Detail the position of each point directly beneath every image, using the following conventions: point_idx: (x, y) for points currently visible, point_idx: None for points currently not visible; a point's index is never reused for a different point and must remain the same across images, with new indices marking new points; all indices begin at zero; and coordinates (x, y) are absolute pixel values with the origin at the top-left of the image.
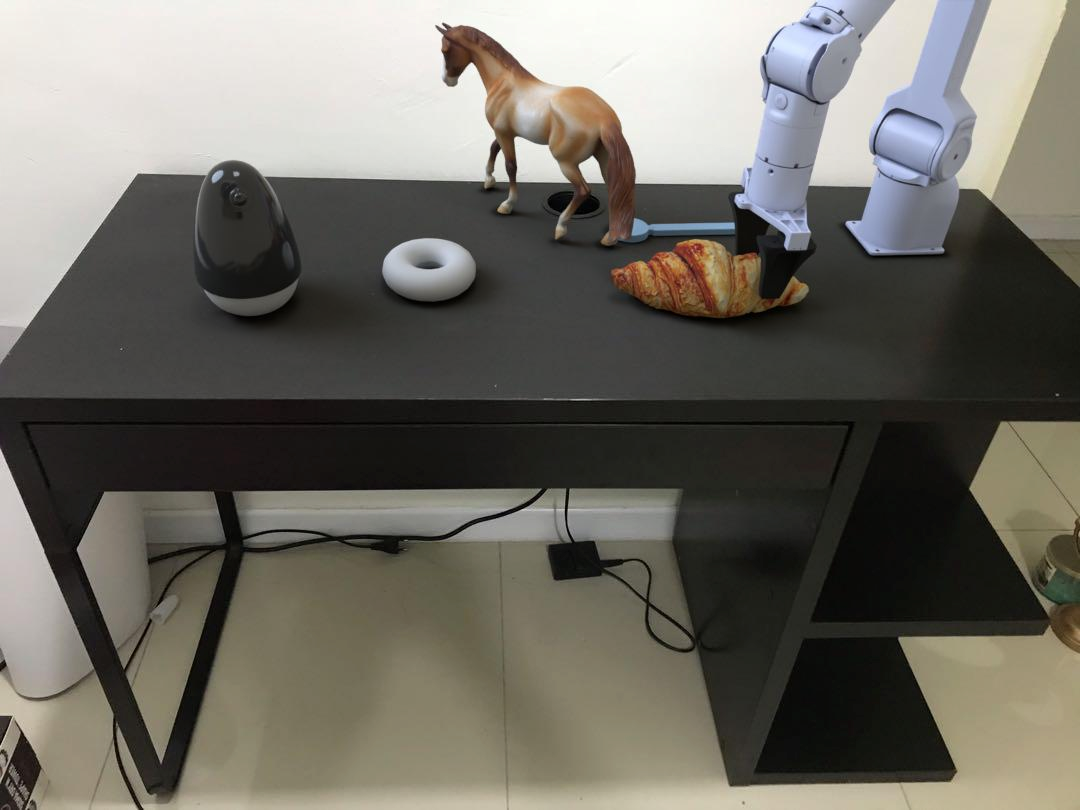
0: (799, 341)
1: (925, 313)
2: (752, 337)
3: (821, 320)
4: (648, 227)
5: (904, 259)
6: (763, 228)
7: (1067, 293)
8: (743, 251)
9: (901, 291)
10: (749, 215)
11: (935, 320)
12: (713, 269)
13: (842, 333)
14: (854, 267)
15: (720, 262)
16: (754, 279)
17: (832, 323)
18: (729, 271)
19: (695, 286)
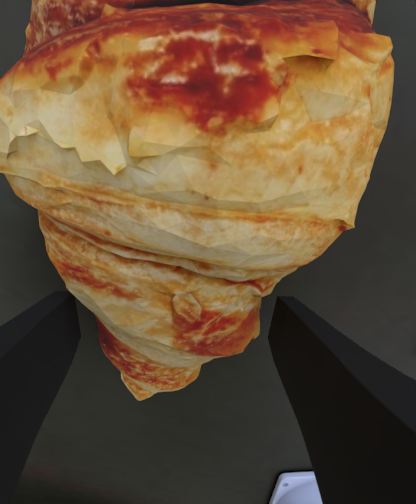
0: (13, 315)
1: (122, 484)
2: (14, 224)
3: (99, 370)
4: None
5: (262, 495)
6: (310, 435)
7: None
8: (284, 324)
9: (182, 477)
10: (366, 460)
11: (103, 489)
12: (29, 133)
13: None
14: (258, 448)
15: (99, 198)
16: (86, 304)
17: (89, 383)
18: (78, 227)
19: (39, 37)
